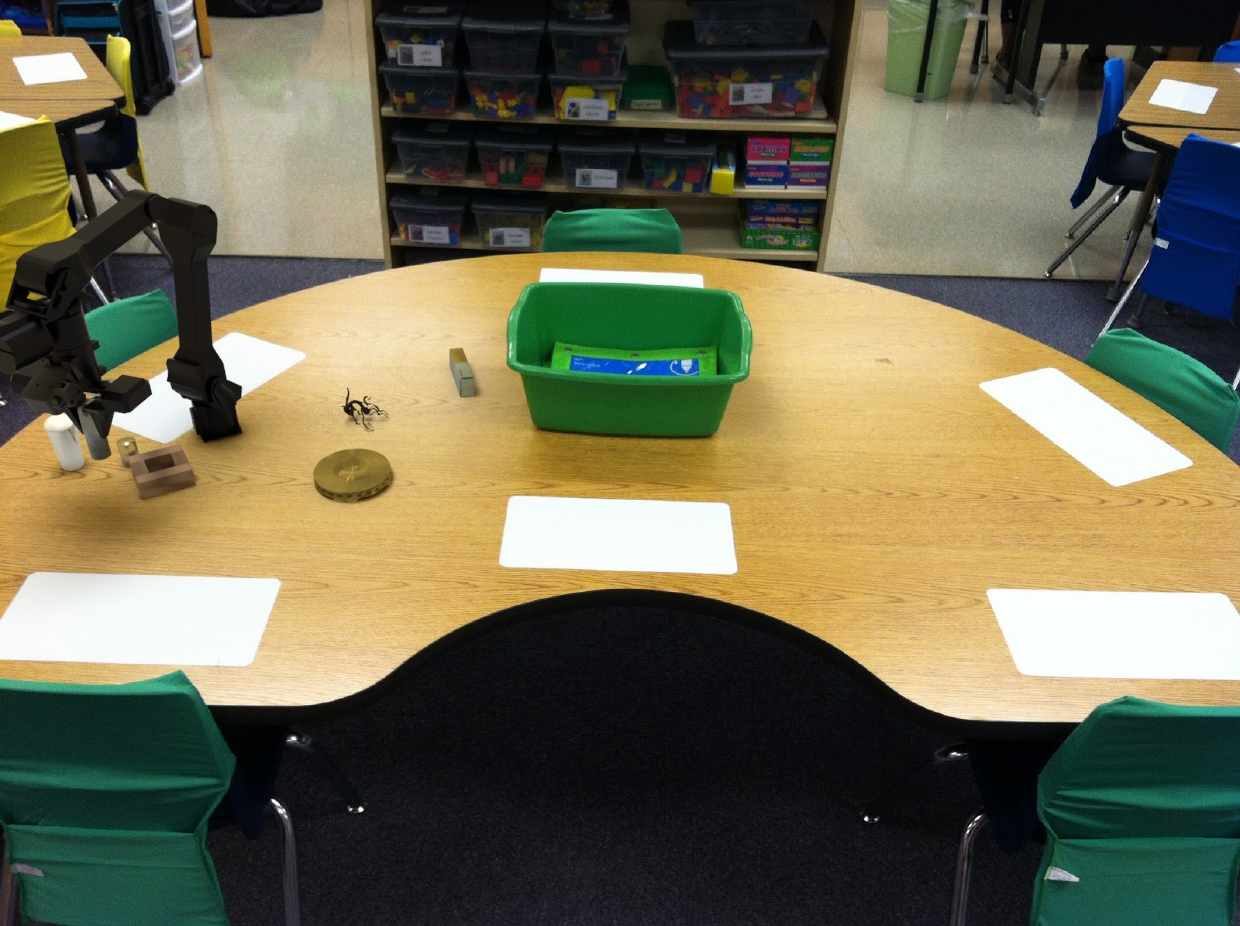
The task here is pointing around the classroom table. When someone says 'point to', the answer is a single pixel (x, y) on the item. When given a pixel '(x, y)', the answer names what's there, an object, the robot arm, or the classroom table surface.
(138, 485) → the collar
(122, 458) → the short pin
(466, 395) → the medication box
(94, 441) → the long pin
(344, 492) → the compass
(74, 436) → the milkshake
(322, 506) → the classroom table surface
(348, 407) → the creature
